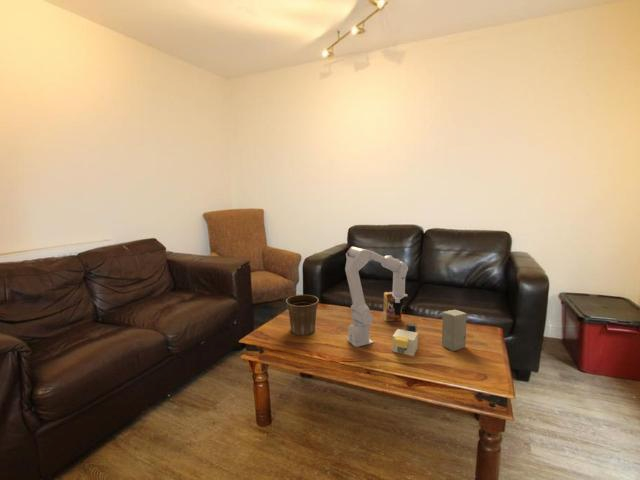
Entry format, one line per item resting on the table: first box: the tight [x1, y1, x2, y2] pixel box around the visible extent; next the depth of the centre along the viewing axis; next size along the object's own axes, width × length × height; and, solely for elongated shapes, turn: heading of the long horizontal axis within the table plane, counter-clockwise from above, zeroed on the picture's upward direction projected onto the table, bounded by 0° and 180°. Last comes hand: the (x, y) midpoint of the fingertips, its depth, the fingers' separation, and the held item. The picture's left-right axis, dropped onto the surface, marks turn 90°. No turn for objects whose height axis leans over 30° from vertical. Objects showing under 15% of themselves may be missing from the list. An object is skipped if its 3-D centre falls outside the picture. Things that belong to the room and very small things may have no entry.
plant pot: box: [285, 294, 320, 336], centre depth 159 cm, size 16×16×16 cm
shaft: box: [396, 322, 418, 354], centre depth 141 cm, size 21×4×6 cm, turn 151°
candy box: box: [382, 291, 403, 322], centre depth 171 cm, size 9×4×15 cm, turn 98°
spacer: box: [395, 336, 409, 349], centre depth 133 cm, size 4×5×3 cm
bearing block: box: [391, 328, 419, 357], centre depth 139 cm, size 8×9×7 cm
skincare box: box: [441, 309, 467, 352], centre depth 140 cm, size 8×7×16 cm
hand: (398, 312), depth 156 cm, fingers open, 7 cm apart
